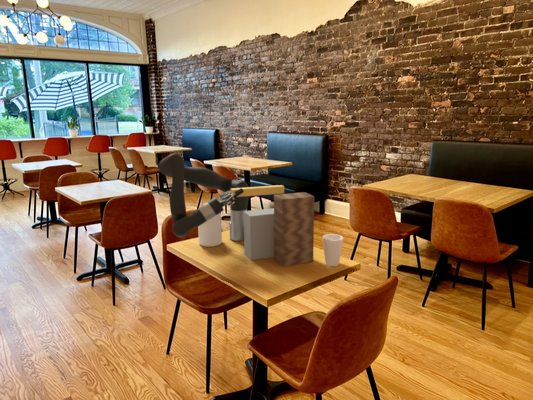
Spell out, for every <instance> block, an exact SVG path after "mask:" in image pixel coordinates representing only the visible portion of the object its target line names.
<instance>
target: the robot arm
mask: <svg viewBox="0 0 533 400" xmlns="http://www.w3.org/2000/svg"><path fill="white" fill-rule="evenodd" d="M158 170H159V172H160V173H161V174H162V175H164V176H166V177H168V178H171V188H170V193H169V208H170V215H171V217H172V223H173V224H172V227H171V231H172V233H173V234H174V235H175V236H176V237H178V238H179V239H181V238H182V239H183V238H186V237H187V236H188V235H189V233H190V231H191V230H192V229H194V228H198V226H200V225H202V224H203V223H205V222H206V221H208V220H210V219H212V218H213V217H215V216H216V215H218V214H219V213H220V214H221V213H222V212H224V207H225V206H230V222H229V224H228V225H229V240H232V241H235V242H243V241H244V211H248V205H249V198H250V196H242V197H238V196H239V195H240V194H242V193H243V192H244V191H243V189H242V188H245V187H249V184H248V183H247V182H246V181H244V180H239V179H233V178H228V177H224V176H222V175H221V174H219V173H218V172H216V171H215V170H214V171H213V170H212V169H209V168H206V167H200V166H185V161H184V159H183V157H182V156H181V155H180V154H178V153H175V152H174V153H171V154H169V155H167V156H166V157H164V158H163V159H161V160H160V161H159V163H158ZM185 182H188V183H192V184H196V185H198V186H202V187H204V188H208V189H212V190H218V191H219V190H220V191H221V192H223V193H221V194H220V195H219V198H217V197H213V198H211V199H210V200H208V201H206V202H205V203H204V204H202V205H201V206H200V207H198V208H197V209H195V210H193V211H192V212H191V213H190V214H188V215H187V207H186V206H187V205H186V200H185ZM231 188H240V189H239V190H237V191H236V192H234V193H232V194H231Z"/></svg>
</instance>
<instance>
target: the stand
mask: <svg viewBox="0 0 533 400" xmlns="http://www.w3.org/2000/svg"><path fill="white" fill-rule="evenodd" d="M273 208H274V257H273V258H274V259H273V260H274V261H276V262H277V264H278V265H280V266H281V267H288V266H289V267H290V266H295V265H301V264H306V263H307V264H308V263H314V237H315V236H314V235H315V234H314V233H315V228H314V227H315V196H314V195H312V194H310V193H307V192H305V191H303V192H302V191H301V192H293V193H283V194H273Z"/></svg>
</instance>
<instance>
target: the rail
mask: <svg viewBox="0 0 533 400" xmlns="http://www.w3.org/2000/svg"><path fill="white" fill-rule="evenodd" d="M239 189H240V188H231V194H232V193H234V192H236V191H237V190H239ZM242 189H243V191H244V192H243V193H242V194H240V195H239V196H238V197H242V196H249V197H253V196H267V195H269V196H270V195H279V194H285V186H284V185H283V184H280V185H279V184H276V185H264V186H262V185H261V186H248V187H245V188H242Z"/></svg>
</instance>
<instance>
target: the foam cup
mask: <svg viewBox="0 0 533 400" xmlns="http://www.w3.org/2000/svg"><path fill="white" fill-rule="evenodd" d="M322 244H323V245H322V246H323V253H324V263H325V265H327V266H329V267H337V266H339V264H340V260H341V255H342V250H343V249H342V248H343V244H344V237H343V236H342V235H340V234H336V233H329V234H328V233H327V234H324V235H322Z"/></svg>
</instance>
